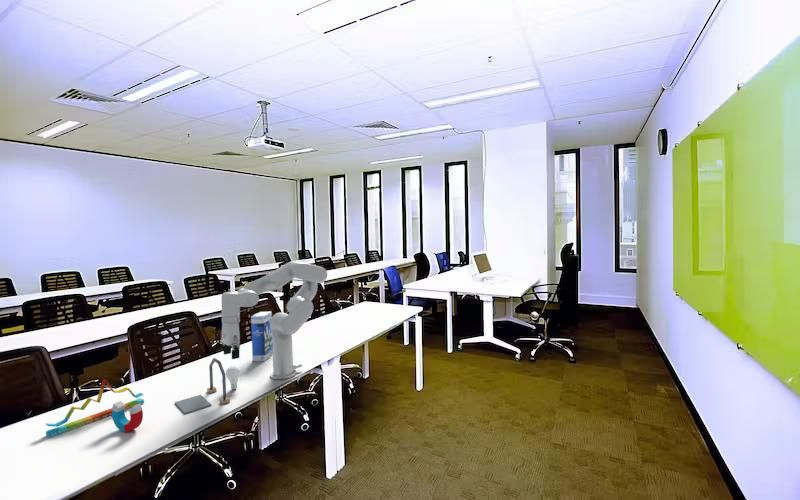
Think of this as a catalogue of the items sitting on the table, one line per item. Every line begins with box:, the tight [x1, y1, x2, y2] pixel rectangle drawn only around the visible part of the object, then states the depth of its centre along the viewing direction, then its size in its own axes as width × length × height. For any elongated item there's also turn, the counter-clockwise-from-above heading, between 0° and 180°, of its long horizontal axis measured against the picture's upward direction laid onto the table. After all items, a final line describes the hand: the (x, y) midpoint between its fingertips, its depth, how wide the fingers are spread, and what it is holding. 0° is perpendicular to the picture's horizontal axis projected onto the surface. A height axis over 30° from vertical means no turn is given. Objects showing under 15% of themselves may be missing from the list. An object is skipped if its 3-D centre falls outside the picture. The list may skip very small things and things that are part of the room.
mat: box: [174, 394, 212, 415], centre depth 154 cm, size 10×14×1 cm
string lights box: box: [250, 311, 273, 362], centre depth 213 cm, size 13×8×26 cm, turn 179°
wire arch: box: [206, 357, 231, 405], centre depth 161 cm, size 3×19×17 cm, turn 45°
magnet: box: [111, 400, 144, 433], centre depth 134 cm, size 12×3×10 cm, turn 74°
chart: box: [45, 378, 145, 439], centre depth 144 cm, size 30×3×15 cm, turn 149°
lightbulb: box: [225, 364, 242, 390], centre depth 169 cm, size 6×6×11 cm
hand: (231, 356), depth 168 cm, fingers open, 9 cm apart
